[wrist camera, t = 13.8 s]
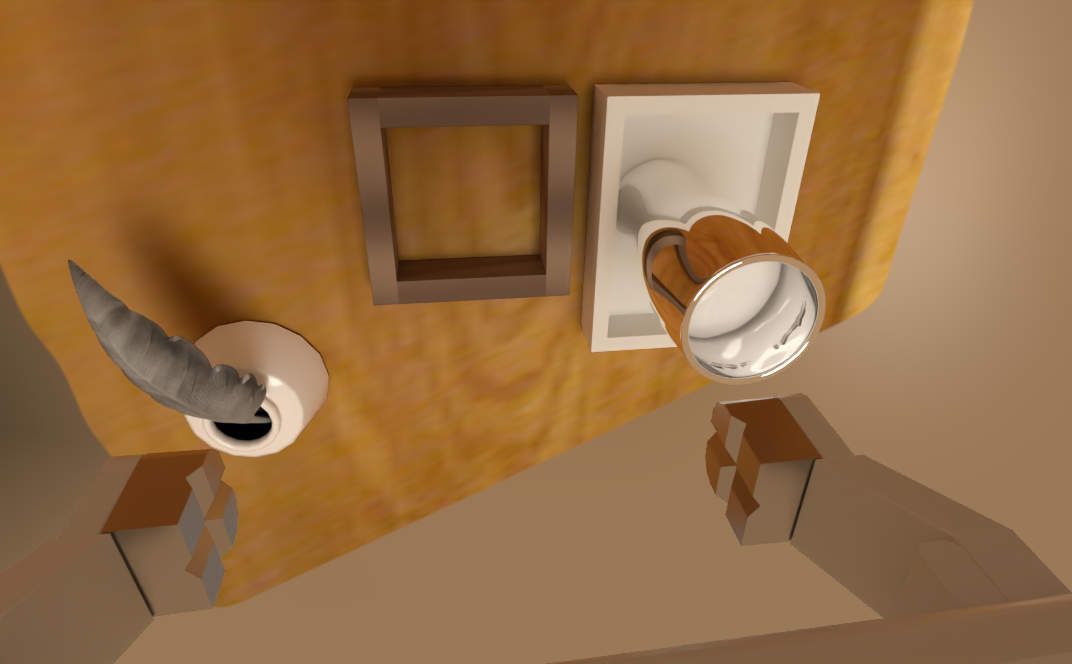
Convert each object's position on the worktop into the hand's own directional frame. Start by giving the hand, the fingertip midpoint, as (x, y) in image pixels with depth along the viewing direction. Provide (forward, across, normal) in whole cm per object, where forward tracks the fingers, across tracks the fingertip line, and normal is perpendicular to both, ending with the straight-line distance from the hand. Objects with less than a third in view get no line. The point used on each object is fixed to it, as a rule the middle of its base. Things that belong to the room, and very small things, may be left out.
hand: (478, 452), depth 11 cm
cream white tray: (+30, -14, +9) cm, 35 cm away
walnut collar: (+30, -1, +6) cm, 31 cm away
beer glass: (+30, -13, +8) cm, 34 cm away
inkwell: (+30, +16, +15) cm, 37 cm away
